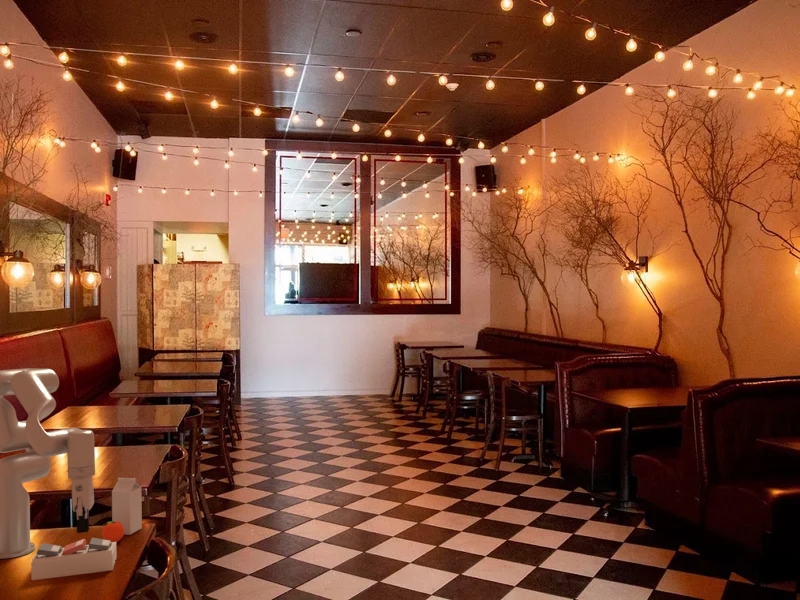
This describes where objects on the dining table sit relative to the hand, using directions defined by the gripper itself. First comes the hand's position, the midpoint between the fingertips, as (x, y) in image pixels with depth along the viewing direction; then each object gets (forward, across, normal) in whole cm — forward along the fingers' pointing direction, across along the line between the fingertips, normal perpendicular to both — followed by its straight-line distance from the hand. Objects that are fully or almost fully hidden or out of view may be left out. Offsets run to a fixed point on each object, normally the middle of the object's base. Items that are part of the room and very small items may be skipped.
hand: (83, 531), depth 201 cm
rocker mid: (+4, 0, +2) cm, 5 cm away
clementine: (+12, +24, -5) cm, 27 cm away
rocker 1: (+4, 0, +10) cm, 10 cm away
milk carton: (+11, +34, -9) cm, 37 cm away
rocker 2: (+5, 0, -4) cm, 7 cm away
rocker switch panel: (+12, +2, +3) cm, 12 cm away
